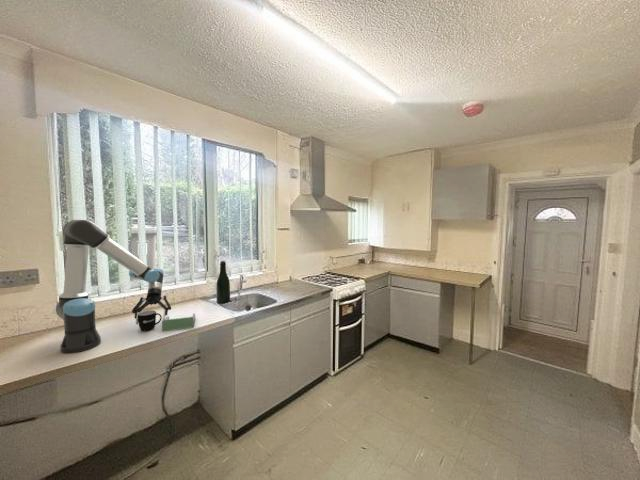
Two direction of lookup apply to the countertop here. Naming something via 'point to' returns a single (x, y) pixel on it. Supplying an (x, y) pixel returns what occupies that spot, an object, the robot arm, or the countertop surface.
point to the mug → (147, 320)
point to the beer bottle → (223, 285)
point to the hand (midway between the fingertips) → (150, 321)
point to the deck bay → (178, 323)
